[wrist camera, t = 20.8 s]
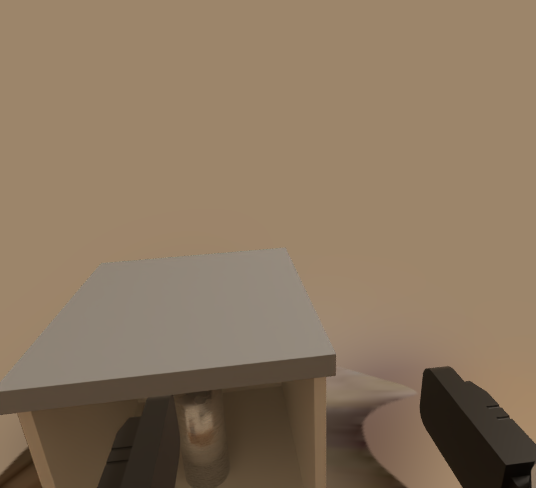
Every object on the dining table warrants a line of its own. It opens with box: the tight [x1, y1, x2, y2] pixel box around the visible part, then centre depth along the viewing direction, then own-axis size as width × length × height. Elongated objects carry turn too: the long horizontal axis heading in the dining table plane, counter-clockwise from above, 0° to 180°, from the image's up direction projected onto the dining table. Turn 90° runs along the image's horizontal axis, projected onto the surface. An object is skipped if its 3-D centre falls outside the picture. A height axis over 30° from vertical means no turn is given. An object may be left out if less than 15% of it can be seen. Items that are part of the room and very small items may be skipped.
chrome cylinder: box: [173, 389, 230, 488], centre depth 43 cm, size 5×5×12 cm
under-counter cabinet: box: [0, 248, 336, 488], centre depth 43 cm, size 25×25×24 cm
